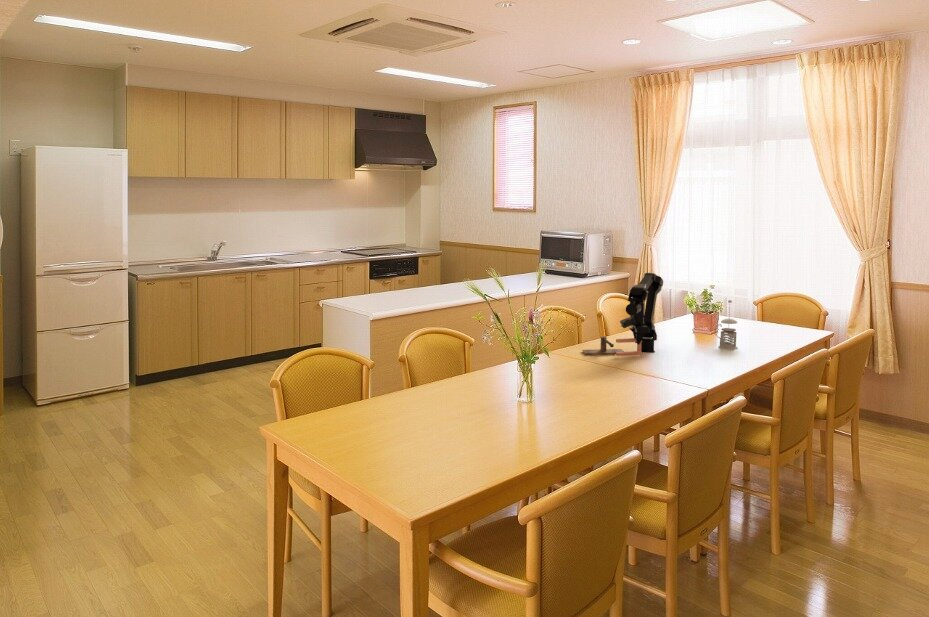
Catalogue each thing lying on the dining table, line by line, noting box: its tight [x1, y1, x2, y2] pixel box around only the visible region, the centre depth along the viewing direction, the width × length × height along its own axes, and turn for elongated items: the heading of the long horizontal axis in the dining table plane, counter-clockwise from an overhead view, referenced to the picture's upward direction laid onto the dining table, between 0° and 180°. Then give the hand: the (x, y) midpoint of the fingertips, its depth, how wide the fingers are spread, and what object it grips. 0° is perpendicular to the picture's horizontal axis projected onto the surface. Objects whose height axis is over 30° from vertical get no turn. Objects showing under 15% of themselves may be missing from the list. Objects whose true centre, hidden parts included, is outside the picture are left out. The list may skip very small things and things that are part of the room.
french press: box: [714, 299, 738, 351], centre depth 364 cm, size 10×12×25 cm
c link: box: [615, 337, 642, 357], centre depth 345 cm, size 12×2×8 cm, turn 93°
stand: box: [581, 336, 625, 356], centre depth 349 cm, size 20×21×8 cm
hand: (637, 343), depth 345 cm, fingers open, 3 cm apart
